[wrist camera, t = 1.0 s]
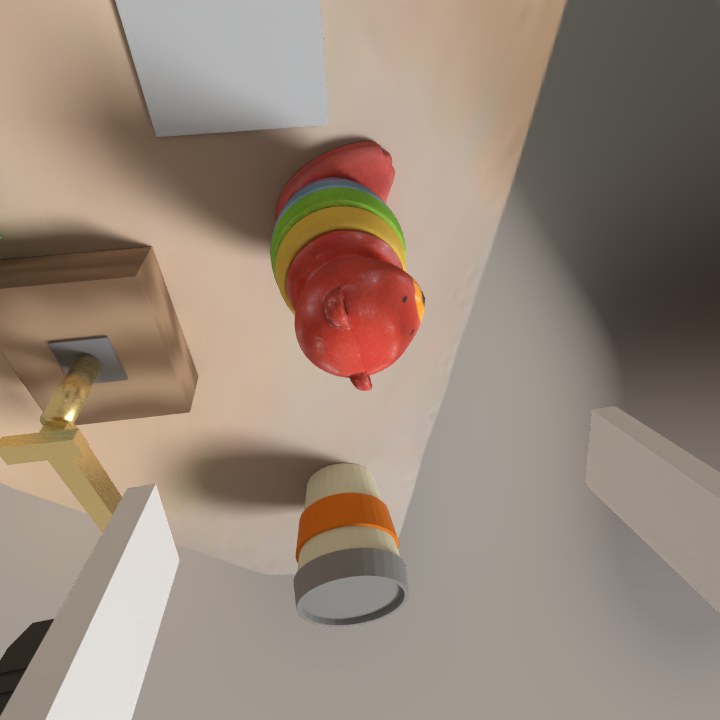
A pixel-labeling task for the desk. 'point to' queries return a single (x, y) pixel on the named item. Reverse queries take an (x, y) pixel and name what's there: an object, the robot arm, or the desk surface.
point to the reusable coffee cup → (347, 551)
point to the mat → (228, 63)
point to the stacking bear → (345, 264)
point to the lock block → (97, 331)
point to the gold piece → (69, 444)
